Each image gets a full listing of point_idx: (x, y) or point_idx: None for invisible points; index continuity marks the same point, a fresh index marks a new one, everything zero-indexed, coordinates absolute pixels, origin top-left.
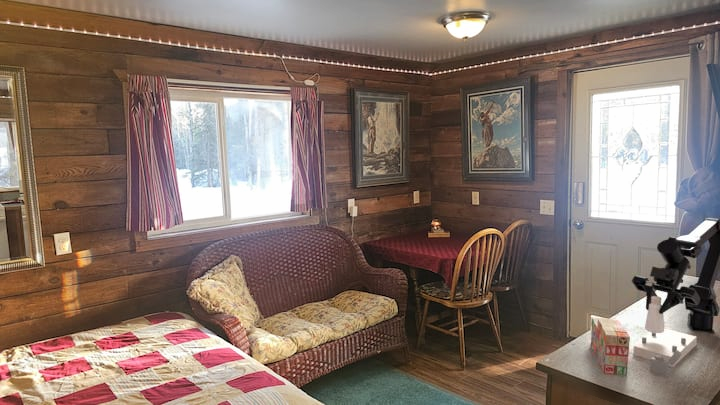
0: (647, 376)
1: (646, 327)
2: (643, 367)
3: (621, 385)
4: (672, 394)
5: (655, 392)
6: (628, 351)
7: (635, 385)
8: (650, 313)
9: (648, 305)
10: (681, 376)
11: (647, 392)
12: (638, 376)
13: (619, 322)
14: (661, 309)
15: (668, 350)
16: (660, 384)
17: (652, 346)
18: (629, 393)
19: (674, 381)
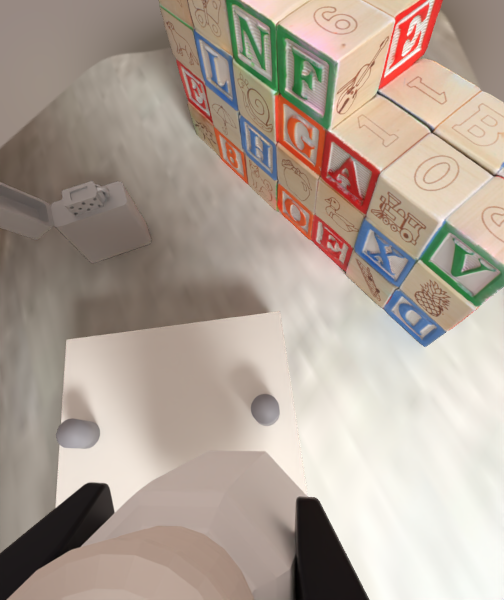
0: (142, 187)
1: (282, 472)
2: (185, 244)
3: (177, 71)
4: (36, 140)
5: (82, 112)
6: (166, 28)
7: (146, 102)
8: (235, 472)
9: (296, 549)
10: (42, 293)
11: (101, 95)
12: (165, 162)
13: (305, 33)
14: (55, 514)
15: (116, 416)
16: (86, 169)
17: (205, 397)
18: (138, 53)
19: (53, 229)
